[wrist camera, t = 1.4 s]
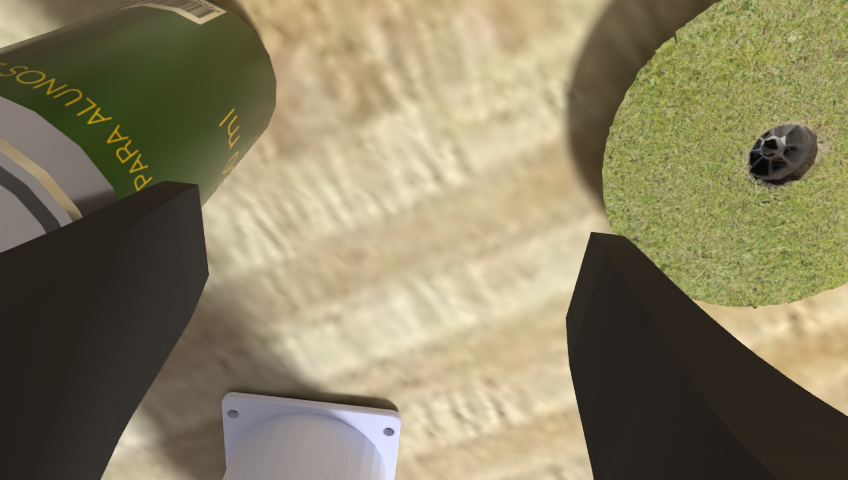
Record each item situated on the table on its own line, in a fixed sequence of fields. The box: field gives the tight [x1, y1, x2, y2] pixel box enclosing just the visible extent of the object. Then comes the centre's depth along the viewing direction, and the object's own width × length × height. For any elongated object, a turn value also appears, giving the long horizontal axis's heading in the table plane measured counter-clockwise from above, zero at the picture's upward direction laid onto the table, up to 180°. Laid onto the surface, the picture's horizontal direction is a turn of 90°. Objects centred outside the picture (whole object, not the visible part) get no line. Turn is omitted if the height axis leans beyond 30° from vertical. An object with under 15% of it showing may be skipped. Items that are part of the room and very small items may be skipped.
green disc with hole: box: [602, 0, 848, 309], centre depth 20 cm, size 11×11×2 cm
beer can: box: [0, 0, 276, 252], centre depth 16 cm, size 5×5×12 cm
